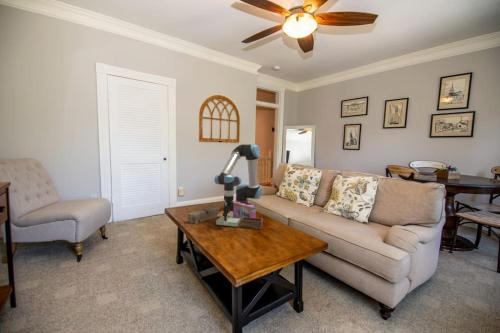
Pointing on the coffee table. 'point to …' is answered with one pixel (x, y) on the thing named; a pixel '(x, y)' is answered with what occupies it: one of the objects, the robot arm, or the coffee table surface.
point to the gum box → (244, 210)
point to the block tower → (203, 214)
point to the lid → (228, 221)
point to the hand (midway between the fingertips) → (228, 221)
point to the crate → (252, 223)
